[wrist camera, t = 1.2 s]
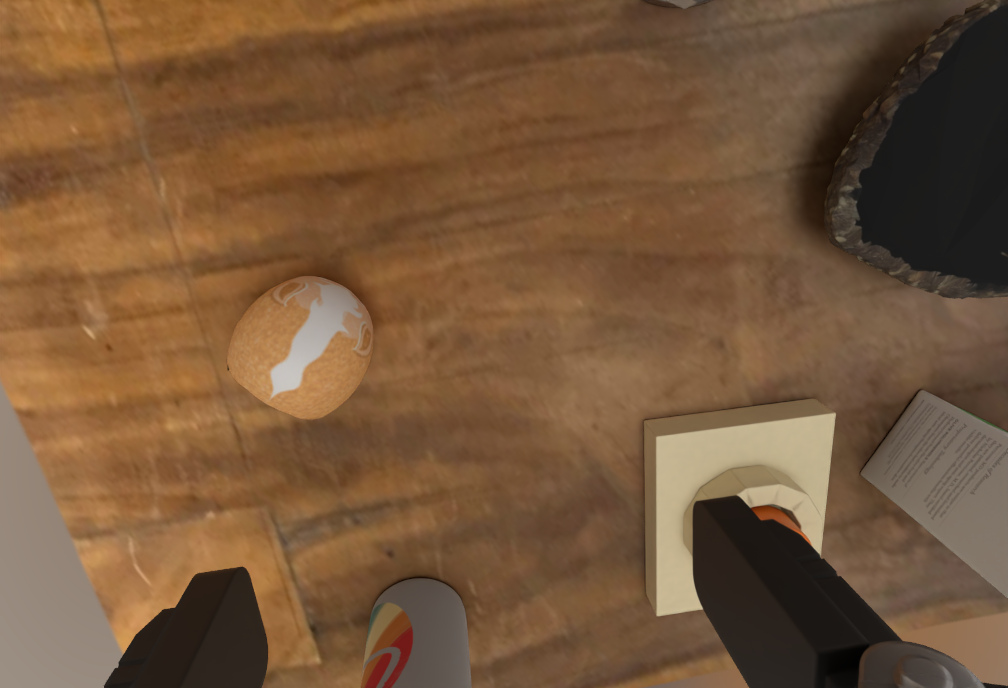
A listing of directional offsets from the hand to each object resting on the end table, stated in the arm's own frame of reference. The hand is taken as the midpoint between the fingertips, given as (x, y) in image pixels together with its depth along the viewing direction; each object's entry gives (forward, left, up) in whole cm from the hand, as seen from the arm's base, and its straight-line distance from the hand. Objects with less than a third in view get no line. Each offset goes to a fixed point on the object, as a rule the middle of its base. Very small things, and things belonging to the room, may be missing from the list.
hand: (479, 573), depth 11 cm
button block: (+14, +15, -21) cm, 29 cm away
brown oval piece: (+1, -7, -21) cm, 22 cm away
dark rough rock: (-4, +24, -15) cm, 29 cm away
